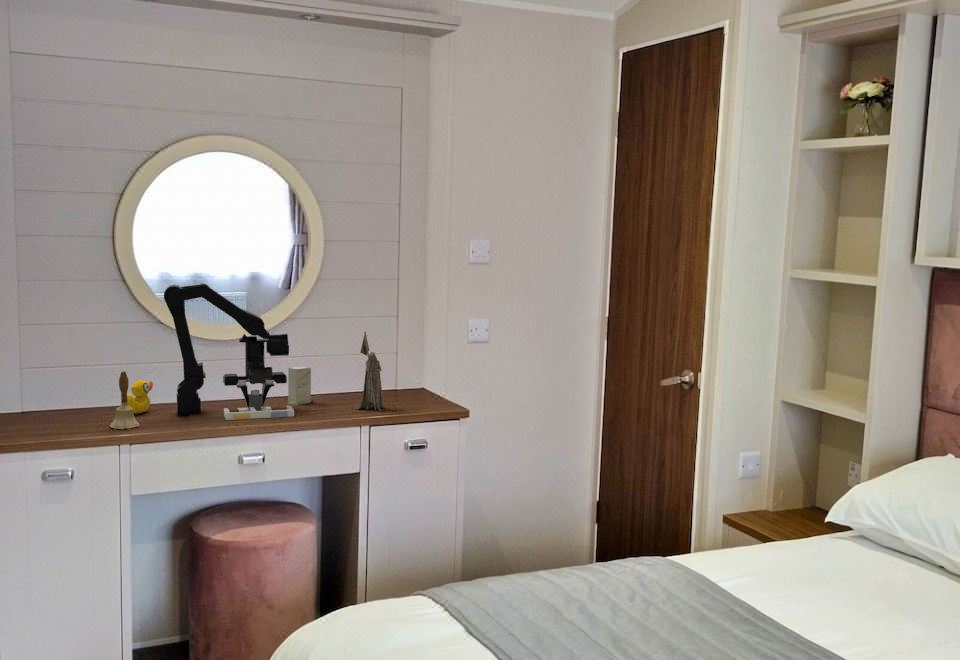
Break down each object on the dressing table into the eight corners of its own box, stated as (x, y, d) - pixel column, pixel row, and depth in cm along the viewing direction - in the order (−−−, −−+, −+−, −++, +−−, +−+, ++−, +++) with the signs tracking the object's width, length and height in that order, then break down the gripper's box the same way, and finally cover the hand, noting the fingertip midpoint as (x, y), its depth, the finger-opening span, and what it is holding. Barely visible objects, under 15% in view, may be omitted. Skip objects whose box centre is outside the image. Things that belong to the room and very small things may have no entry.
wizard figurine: (358, 413, 295) (358, 333, 292) (350, 407, 303) (350, 330, 300) (389, 410, 300) (390, 332, 297) (380, 405, 307) (381, 329, 304)
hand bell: (145, 426, 271) (144, 371, 269) (118, 431, 265) (116, 375, 263) (131, 422, 276) (129, 368, 274) (103, 426, 270) (102, 371, 268)
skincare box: (296, 406, 303) (296, 369, 301) (287, 404, 305) (287, 367, 304) (311, 404, 308) (311, 367, 306) (302, 402, 310) (302, 365, 309)
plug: (249, 411, 292) (249, 392, 291) (247, 408, 295) (247, 389, 295) (262, 410, 293) (262, 391, 292) (261, 408, 297) (260, 389, 296)
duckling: (145, 408, 295) (144, 377, 294) (159, 410, 293) (158, 378, 292) (118, 415, 285) (117, 382, 283) (132, 417, 282) (132, 384, 281)
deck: (240, 414, 289) (240, 412, 289) (237, 410, 296) (237, 408, 296) (273, 412, 293) (273, 410, 293) (270, 408, 299) (270, 406, 299)
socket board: (227, 424, 276) (227, 415, 276) (223, 416, 286) (223, 408, 286) (295, 420, 283) (295, 412, 283) (290, 413, 293) (290, 405, 293)
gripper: (226, 361, 281) (226, 412, 283) (289, 359, 288) (289, 409, 290) (222, 355, 292) (223, 405, 294) (283, 354, 298) (284, 402, 300)
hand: (255, 406), depth 294 cm, fingers closed on plug, 4 cm apart
